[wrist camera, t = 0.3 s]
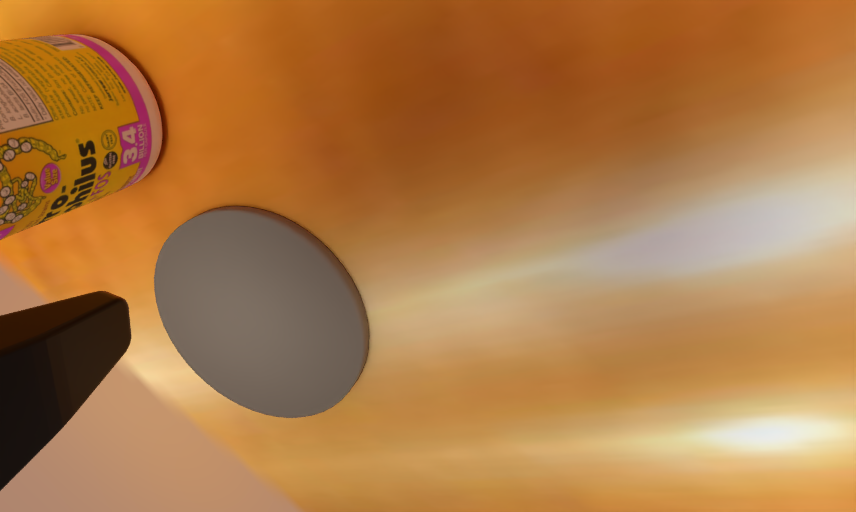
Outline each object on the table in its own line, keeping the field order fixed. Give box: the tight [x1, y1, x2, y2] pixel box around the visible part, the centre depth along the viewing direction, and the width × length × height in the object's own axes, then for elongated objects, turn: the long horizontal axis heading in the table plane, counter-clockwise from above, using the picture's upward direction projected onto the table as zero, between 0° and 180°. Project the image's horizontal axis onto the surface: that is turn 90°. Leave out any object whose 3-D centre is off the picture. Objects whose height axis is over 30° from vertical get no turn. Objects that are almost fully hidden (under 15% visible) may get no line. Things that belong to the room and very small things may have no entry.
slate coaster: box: [154, 206, 369, 418], centre depth 28 cm, size 11×11×1 cm
